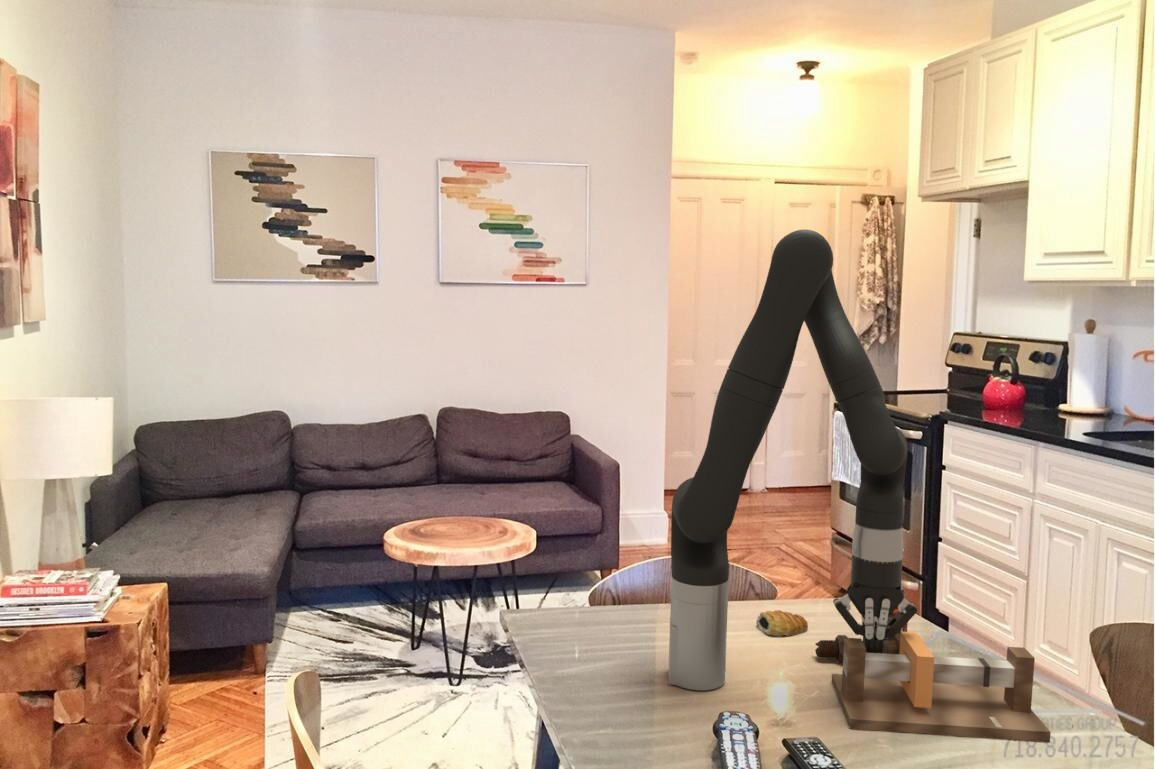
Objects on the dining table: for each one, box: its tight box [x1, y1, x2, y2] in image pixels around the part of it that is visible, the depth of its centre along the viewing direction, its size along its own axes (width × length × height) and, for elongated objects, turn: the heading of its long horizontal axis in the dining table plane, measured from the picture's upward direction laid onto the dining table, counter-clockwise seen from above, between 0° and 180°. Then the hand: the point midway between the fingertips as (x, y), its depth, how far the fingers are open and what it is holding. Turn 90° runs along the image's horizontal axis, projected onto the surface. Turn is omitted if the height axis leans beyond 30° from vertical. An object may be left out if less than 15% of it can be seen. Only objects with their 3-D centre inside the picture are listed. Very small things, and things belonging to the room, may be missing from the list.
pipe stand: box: [830, 637, 1051, 743], centre depth 140 cm, size 28×16×10 cm, turn 84°
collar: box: [900, 631, 934, 708], centre depth 140 cm, size 2×10×8 cm, turn 174°
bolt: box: [814, 634, 901, 665], centre depth 158 cm, size 6×5×15 cm
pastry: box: [755, 609, 809, 638], centre depth 173 cm, size 9×7×4 cm
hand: (871, 659), depth 144 cm, fingers closed
